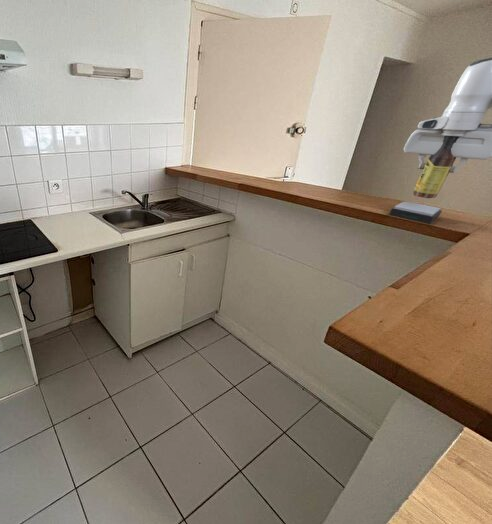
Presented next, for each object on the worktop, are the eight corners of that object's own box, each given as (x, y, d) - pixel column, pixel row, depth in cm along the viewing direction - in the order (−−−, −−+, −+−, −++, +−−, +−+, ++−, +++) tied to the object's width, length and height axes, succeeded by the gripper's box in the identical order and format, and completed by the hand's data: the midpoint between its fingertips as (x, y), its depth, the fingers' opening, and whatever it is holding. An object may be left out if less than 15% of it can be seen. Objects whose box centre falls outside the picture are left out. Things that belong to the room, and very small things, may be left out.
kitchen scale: (438, 217, 97) (443, 208, 96) (429, 224, 91) (434, 214, 90) (399, 209, 105) (403, 200, 103) (388, 215, 99) (392, 206, 98)
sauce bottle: (415, 192, 99) (444, 130, 89) (438, 196, 94) (472, 131, 84) (408, 195, 96) (437, 131, 86) (432, 200, 91) (466, 133, 81)
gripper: (513, 124, 78) (484, 174, 85) (418, 121, 93) (400, 165, 99) (510, 125, 75) (480, 177, 82) (412, 122, 89) (394, 167, 96)
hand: (435, 170), depth 91 cm, fingers closed on sauce bottle, 6 cm apart
